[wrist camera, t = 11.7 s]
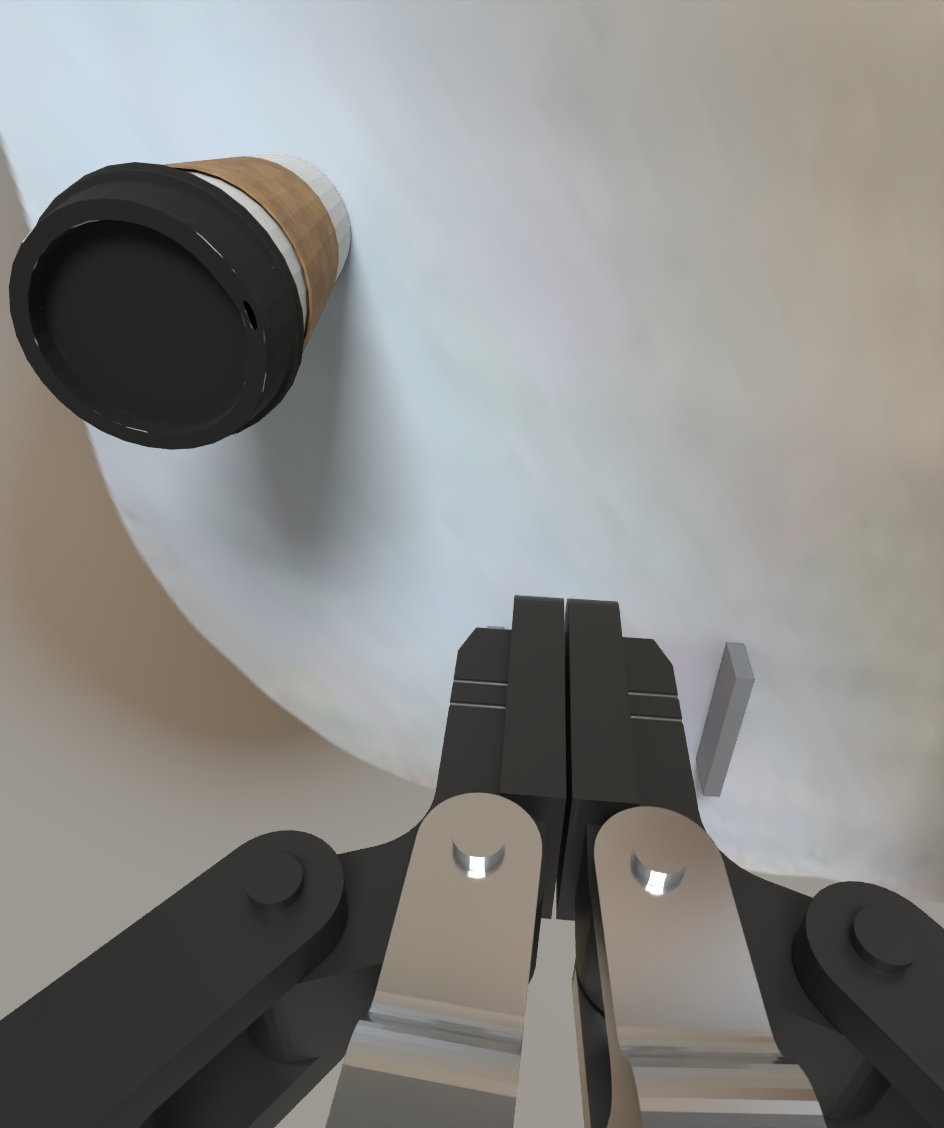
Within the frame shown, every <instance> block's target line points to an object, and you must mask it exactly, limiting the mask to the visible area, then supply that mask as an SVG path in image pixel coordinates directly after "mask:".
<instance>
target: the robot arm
mask: <svg viewBox="0 0 944 1128" xmlns="http://www.w3.org/2000/svg"><path fill="white" fill-rule="evenodd" d="M677 695H678V693H677V687H676V682H675V676H674V670H673V665H672V664H671V662H670V661H669V660H668V658H667V657H666V656H665V654H664V653H663V652H662V650H661V649H660V648H659V646H658V645H657V644H656V642H655V641H654V640H653V639H642V638H627V637H622V630H621V620H620V611H619V604H618V602H615V601H599V600H583V599H567V604H566V612H565V621H564V599H563V598H549V597H534V596H518V595H515V596H514V609H513V622H512V630H505V629H490V628H476V629H475V630H474V631H473V632H472V634H471V635H470V636H469V637H468V639H467V640H466V641H465V642H464V644H463V645H462V646H461V647H460V649H459V650H458V655H457V661H456V667H455V674H454V683H453V686H452V693H451V699H450V706H449V712H448V718H447V724H446V731H445V737H444V743H443V750H442V756H441V762H440V769H439V775H438V781H437V788H436V793H435V797H434V800H433V803H432V805H431V807H430V809H429V810H428V812H427V813H426V815H425V816H424V818H423V819H422V820H421V821H420V822H419V823H418V824H417V825H416V826H415V827H414V828H412V829H411V830H410V831H409V832H407V833H406V834H404V835H402V836H401V837H399V838H397V839H395V840H393V841H390V842H388V843H385V844H381V845H378V846H374V847H370V848H366V849H360V850H356V851H351V852H347V853H342V854H338V855H337V854H336V853H335V851H334V850H333V849H332V848H331V847H330V846H329V845H328V844H327V843H326V842H324V841H323V840H322V839H320V838H318V837H316V836H314V835H312V834H309V833H305V832H300V831H293V830H291V831H277V832H270V833H267V834H264V835H261V836H258V837H256V838H254V839H251V840H249V841H248V842H246V843H244V844H243V845H241V846H240V847H238V848H237V849H235V850H234V851H233V852H231V853H230V854H229V855H227V856H226V857H224V858H223V859H222V860H220V861H219V862H218V863H216V864H215V865H213V866H212V867H211V868H209V869H208V870H207V871H205V872H204V873H202V874H201V875H200V876H198V877H197V878H196V879H194V880H193V881H191V882H190V883H189V884H187V885H186V886H185V887H183V888H182V889H180V890H179V891H178V892H176V893H175V894H174V895H172V896H171V897H169V898H168V899H167V900H165V901H164V902H163V903H161V904H160V905H159V906H157V907H156V908H154V909H153V910H152V911H150V912H149V913H147V914H146V915H145V916H143V917H142V918H141V919H139V920H138V921H136V922H135V923H134V924H132V925H131V926H130V927H128V928H127V929H125V930H124V931H123V932H121V933H120V934H119V935H117V936H116V937H114V938H113V939H112V940H110V941H109V942H108V943H106V944H105V945H103V946H102V947H101V948H99V949H98V950H97V951H95V952H94V953H92V954H91V955H90V956H88V957H87V958H86V959H84V960H83V961H81V962H80V963H79V964H77V965H76V966H75V967H73V968H72V969H71V970H69V971H68V972H66V973H65V974H64V975H62V976H61V977H59V978H58V979H57V980H55V981H54V982H53V983H51V984H50V985H49V986H47V987H46V988H44V989H43V990H42V991H40V992H39V993H37V994H36V995H35V996H33V997H32V998H31V999H29V1000H28V1001H27V1002H25V1003H24V1004H22V1005H21V1006H20V1007H18V1008H17V1009H15V1010H14V1011H13V1012H11V1013H10V1014H9V1015H7V1016H6V1017H4V1018H3V1019H2V1020H0V1128H274V1127H275V1126H276V1125H277V1124H278V1123H279V1122H280V1121H281V1120H282V1119H283V1118H284V1117H285V1116H286V1115H287V1114H288V1113H289V1112H290V1111H291V1110H292V1109H293V1108H294V1107H295V1106H296V1105H297V1104H298V1103H299V1102H300V1101H301V1100H302V1099H303V1098H304V1097H305V1096H306V1095H307V1094H308V1093H309V1092H310V1091H311V1090H312V1089H313V1088H314V1087H315V1086H316V1085H317V1084H318V1083H319V1082H320V1081H321V1080H322V1079H323V1078H324V1077H325V1076H326V1075H327V1074H328V1073H329V1072H330V1071H331V1070H332V1069H333V1068H334V1067H335V1066H336V1065H337V1064H338V1063H339V1062H340V1061H341V1060H342V1058H343V1057H344V1056H345V1059H344V1062H343V1065H342V1069H341V1073H340V1077H339V1080H338V1084H337V1087H336V1091H335V1094H334V1098H333V1101H332V1105H331V1109H330V1113H329V1116H328V1120H327V1123H326V1127H325V1128H513V1124H514V1114H515V1105H516V1095H517V1086H518V1076H519V1067H520V1058H521V1048H522V1039H523V1029H524V1019H525V1010H526V1001H527V991H528V985H529V983H530V980H531V979H532V977H533V974H534V970H535V967H536V958H537V949H538V940H539V931H540V923H541V918H548V919H551V915H552V907H553V899H554V892H555V883H557V885H556V886H557V887H556V889H557V890H556V897H557V899H556V903H557V905H556V906H557V907H556V918H557V919H562V920H574V921H575V935H576V936H575V940H576V959H575V965H574V971H573V977H572V992H573V1004H574V1014H575V1027H576V1038H577V1049H578V1060H579V1072H580V1082H581V1094H582V1104H583V1117H584V1128H944V929H943V928H942V927H941V926H940V925H938V924H937V923H936V922H935V921H934V920H933V919H931V918H930V917H929V916H928V915H927V914H926V913H924V912H923V911H922V910H921V909H919V908H918V907H917V906H916V905H914V904H913V903H912V902H910V901H909V900H907V899H905V898H904V897H902V896H900V895H899V894H897V893H895V892H893V891H890V890H888V889H886V888H883V887H880V886H877V885H874V884H870V883H864V882H854V881H847V882H839V883H835V884H832V885H830V886H827V887H826V888H824V889H822V890H821V891H819V892H818V893H817V894H816V895H815V896H814V898H812V897H809V896H806V895H804V894H801V893H798V892H796V891H793V890H790V889H788V888H785V887H783V886H780V885H777V884H775V883H772V882H769V881H766V880H764V879H762V878H760V877H757V876H755V875H753V874H751V873H749V872H748V871H746V870H744V869H742V868H741V867H739V866H738V865H736V864H735V863H734V862H732V861H731V860H730V859H729V858H728V857H726V856H725V855H724V854H723V853H722V852H721V851H720V850H719V849H718V847H717V846H716V844H715V843H714V841H713V840H712V839H711V837H710V836H709V835H708V834H707V832H706V830H705V828H704V826H703V824H702V822H701V818H700V814H699V810H698V804H697V799H696V793H695V788H694V782H693V777H692V771H691V765H690V760H689V754H688V749H687V743H686V737H685V732H684V726H683V723H682V715H681V710H680V704H679V699H677Z"/></svg>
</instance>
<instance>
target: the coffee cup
mask: <svg viewBox="0 0 944 1128" xmlns="http://www.w3.org/2000/svg"><path fill="white" fill-rule="evenodd" d="M350 241H351V236H350V222H349V217H348V212H347V210H346V207H345V205H344V202H343V200H342V198H341V196H340V194H339V193H338V191H337V189H336V188H335V186H334V185H333V184H332V183H331V181H330V180H329V179H328V178H327V177H326V175H325V174H323V173H322V172H321V171H320V170H319V169H317V168H316V167H315V166H314V165H312V164H310V163H309V162H307V161H305V160H303V159H301V158H298V157H295V156H292V155H289V154H283V153H265V154H257V155H251V156H246V157H245V156H242V157H233V158H223V159H213V160H203V161H194V162H184V163H174V164H166V165H159V164H149V163H138V162H133V163H125V164H118V165H110V166H106V167H104V168H102V169H99V170H97V171H94V172H92V173H90V174H87V175H85V176H83V177H82V178H81V179H79V180H78V181H77V182H75V183H74V184H73V185H71V186H70V187H69V188H67V189H66V190H65V191H63V192H62V193H61V194H60V195H58V196H57V197H56V198H55V199H54V200H53V201H52V202H51V204H50V205H49V206H48V208H47V209H46V210H45V212H44V213H43V214H42V215H41V217H40V218H39V220H38V222H37V224H36V226H35V227H34V228H33V229H32V231H31V232H30V233H29V234H28V236H27V237H26V238H25V239H24V241H23V242H22V244H21V246H20V248H19V251H18V253H17V255H16V257H15V260H14V262H13V265H12V271H11V277H10V284H9V298H10V312H11V316H12V320H13V324H14V328H15V332H16V336H17V338H18V340H19V343H20V345H21V347H22V349H23V352H24V354H25V356H26V358H27V360H28V362H29V363H30V365H31V366H32V367H33V369H34V371H35V372H36V374H37V375H38V377H39V378H40V380H41V381H42V382H43V383H44V384H45V386H46V387H47V388H48V389H49V390H50V391H51V392H52V393H53V394H54V395H55V397H56V398H57V399H58V400H59V401H60V402H61V403H63V404H64V405H65V406H66V407H68V408H69V409H70V410H71V411H72V412H73V413H75V414H76V415H77V416H78V417H80V418H81V419H83V420H84V421H86V422H88V423H89V424H91V425H93V426H94V427H96V428H97V429H99V430H101V431H103V432H105V433H107V434H110V435H112V436H114V437H117V438H119V439H121V440H124V441H127V442H131V443H135V444H139V445H142V446H146V447H153V448H162V449H189V448H196V447H200V446H204V445H208V444H212V443H215V442H217V441H219V440H221V439H223V438H225V437H227V436H229V435H232V434H236V433H239V432H241V431H243V430H244V429H246V428H248V427H250V426H252V425H253V424H255V423H257V422H259V421H260V420H261V419H262V418H263V417H265V416H266V415H267V414H268V413H269V412H270V411H271V410H273V409H274V408H275V407H276V406H277V405H278V404H279V403H280V402H281V401H282V399H283V398H284V396H285V395H286V393H287V392H288V390H289V389H290V388H291V386H292V385H293V382H294V380H295V377H296V374H297V372H298V369H299V366H300V364H301V359H302V353H303V351H304V349H305V347H306V345H307V342H308V340H309V338H310V336H311V334H312V332H313V330H314V327H315V325H316V323H317V321H318V319H319V317H320V314H321V312H322V310H323V308H324V306H325V304H326V302H327V299H328V297H329V295H330V293H331V291H332V288H333V285H334V283H335V281H336V280H337V278H338V276H339V274H340V272H341V271H342V269H343V267H344V264H345V261H346V259H347V256H348V253H349V247H350Z"/></svg>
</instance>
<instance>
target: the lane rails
mask: <svg viewBox="0 0 944 1128" xmlns="http://www.w3.org/2000/svg"><path fill="white" fill-rule="evenodd" d="M488 628H490V629H504V627H489V626H488ZM754 680H755V678H754V675H753V671H752V668H751V665H750V661H749V658H748V655H747V651H746V648H745V645H744V644H743V643H728V642H727V643H726V647H725V651H724V655H723V658H722V662H721V666H720V670H719V674H718V677H717V681H716V685H715V689H714V693H713V697H712V700H711V704H710V708H709V712H708V716H707V719H706V723H705V727H704V731H703V735H702V739H701V742H700V746H699V750H698V754H697V758H696V759H697V765H698V770H699V775H700V781H701V786H702V791H703V795H704V796H717V797H720V793H721V790H722V787H723V783H724V780H725V777H726V773H727V770H728V767H729V763H730V760H731V757H732V753H733V750H734V747H735V743H736V740H737V737H738V733H739V730H740V727H741V723H742V720H743V717H744V713H745V710H746V707H747V703H748V700H749V697H750V693H751V690H752V687H753V683H754Z"/></svg>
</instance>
